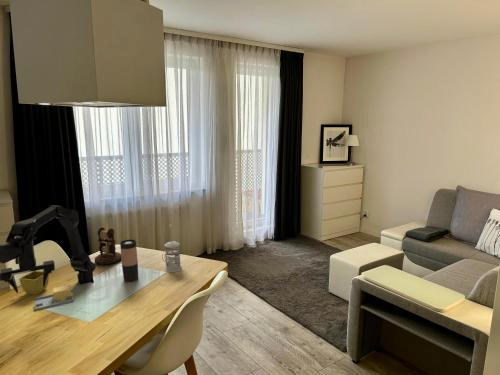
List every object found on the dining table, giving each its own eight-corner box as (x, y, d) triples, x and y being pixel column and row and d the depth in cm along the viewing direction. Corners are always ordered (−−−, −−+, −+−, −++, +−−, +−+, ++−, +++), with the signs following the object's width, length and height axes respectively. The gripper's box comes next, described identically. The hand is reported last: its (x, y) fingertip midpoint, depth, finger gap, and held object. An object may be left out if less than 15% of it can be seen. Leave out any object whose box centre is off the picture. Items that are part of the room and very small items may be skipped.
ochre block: (70, 292, 163) (69, 284, 162) (71, 297, 158) (70, 289, 158) (53, 296, 159) (52, 288, 158) (54, 301, 155) (53, 292, 154)
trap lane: (72, 292, 164) (72, 289, 164) (74, 302, 155) (73, 299, 154) (35, 300, 157) (34, 297, 156) (34, 312, 147) (34, 309, 147)
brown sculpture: (127, 258, 206) (124, 225, 202) (109, 267, 192) (106, 233, 189) (107, 255, 211) (104, 223, 207) (88, 264, 197) (85, 230, 194)
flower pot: (37, 298, 159) (34, 279, 158) (20, 296, 161) (18, 278, 159) (51, 289, 168) (49, 271, 166) (36, 287, 169) (33, 270, 168)
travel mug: (119, 281, 175) (116, 243, 172) (130, 275, 182) (127, 238, 179) (131, 283, 172) (128, 245, 169) (142, 277, 179) (139, 240, 176)
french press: (186, 267, 191) (184, 223, 187) (171, 274, 182) (168, 229, 177) (173, 263, 197) (170, 221, 192) (157, 270, 187) (154, 226, 182)
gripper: (52, 243, 150) (56, 277, 153) (-1, 251, 141) (5, 287, 144) (52, 251, 141) (57, 286, 144) (-4, 260, 132) (2, 298, 134)
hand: (30, 289), depth 142 cm, fingers open, 9 cm apart
